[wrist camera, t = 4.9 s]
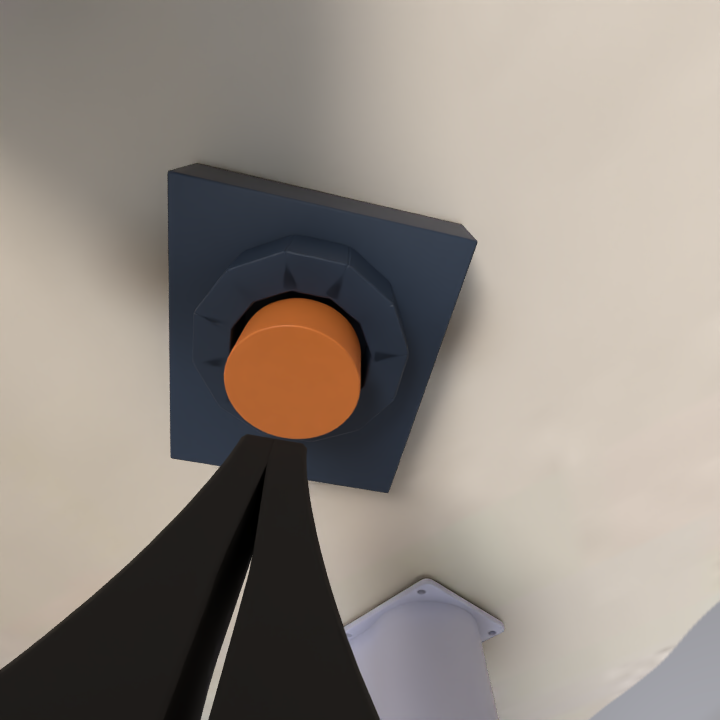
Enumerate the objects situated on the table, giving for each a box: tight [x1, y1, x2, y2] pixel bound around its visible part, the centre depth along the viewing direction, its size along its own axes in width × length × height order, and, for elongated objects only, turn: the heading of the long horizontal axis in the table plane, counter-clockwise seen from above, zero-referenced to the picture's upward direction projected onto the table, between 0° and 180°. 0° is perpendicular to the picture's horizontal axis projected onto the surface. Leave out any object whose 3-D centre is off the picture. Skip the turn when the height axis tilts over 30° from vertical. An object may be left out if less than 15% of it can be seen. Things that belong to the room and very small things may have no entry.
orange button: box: [224, 298, 361, 439], centre depth 13 cm, size 4×4×2 cm
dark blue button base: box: [168, 163, 477, 493], centre depth 16 cm, size 12×10×4 cm
